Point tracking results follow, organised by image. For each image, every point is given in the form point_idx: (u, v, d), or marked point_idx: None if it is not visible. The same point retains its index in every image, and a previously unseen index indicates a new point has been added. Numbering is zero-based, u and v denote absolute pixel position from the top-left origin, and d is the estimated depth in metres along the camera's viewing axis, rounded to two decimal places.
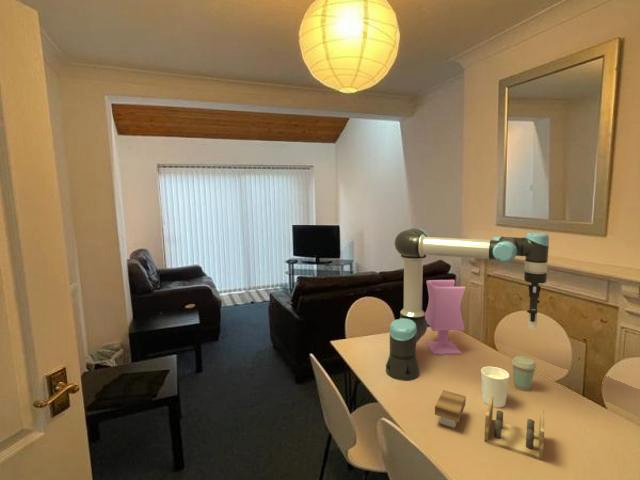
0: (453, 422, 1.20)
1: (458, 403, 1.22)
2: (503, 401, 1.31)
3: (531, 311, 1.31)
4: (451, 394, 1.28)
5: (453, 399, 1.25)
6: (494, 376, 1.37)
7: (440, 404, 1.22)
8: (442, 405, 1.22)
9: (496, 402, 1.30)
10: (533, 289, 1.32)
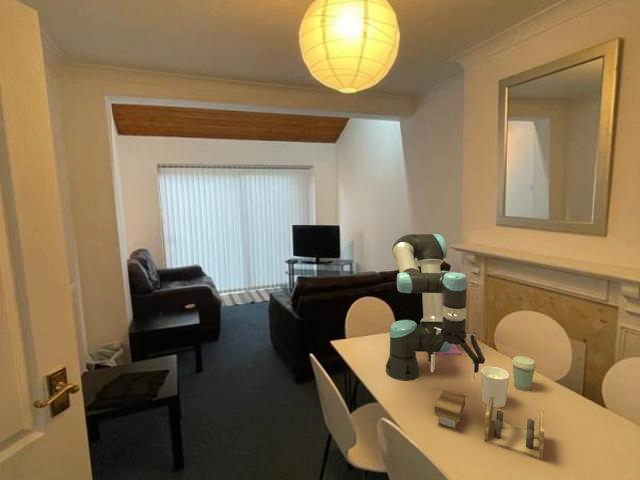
0: (453, 422, 1.20)
1: (458, 403, 1.22)
2: (503, 401, 1.31)
3: None
4: (451, 394, 1.28)
5: (453, 399, 1.25)
6: (494, 376, 1.37)
7: (440, 404, 1.22)
8: (442, 405, 1.22)
9: (496, 402, 1.30)
10: None
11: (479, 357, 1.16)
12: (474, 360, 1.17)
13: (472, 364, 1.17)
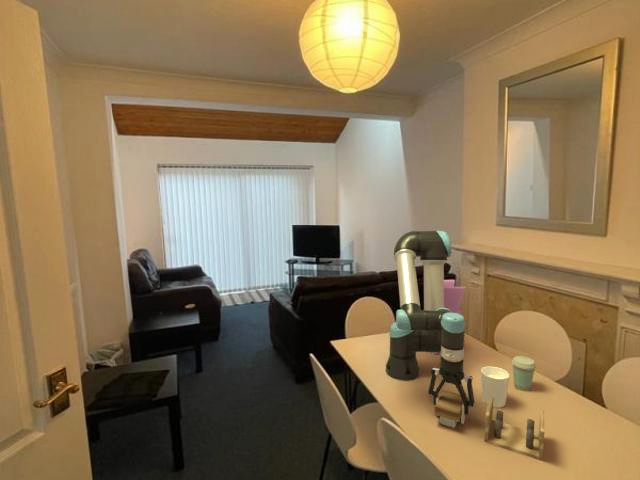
0: (453, 422, 1.20)
1: (458, 403, 1.22)
2: (503, 401, 1.31)
3: None
4: (451, 394, 1.28)
5: (453, 399, 1.25)
6: (494, 376, 1.37)
7: (440, 404, 1.22)
8: (442, 405, 1.22)
9: (496, 402, 1.30)
10: None
11: (470, 400, 1.19)
12: (464, 402, 1.20)
13: (462, 406, 1.20)
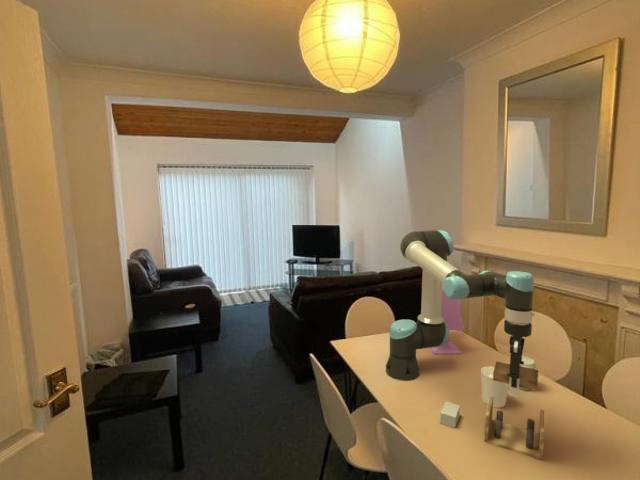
0: (453, 422, 1.20)
1: None
2: (503, 401, 1.31)
3: (512, 375, 1.05)
4: (498, 367, 1.13)
5: (508, 368, 1.12)
6: None
7: (528, 377, 1.06)
8: (529, 376, 1.07)
9: (496, 402, 1.30)
10: (514, 349, 1.04)
11: (521, 354, 1.15)
12: None
13: None
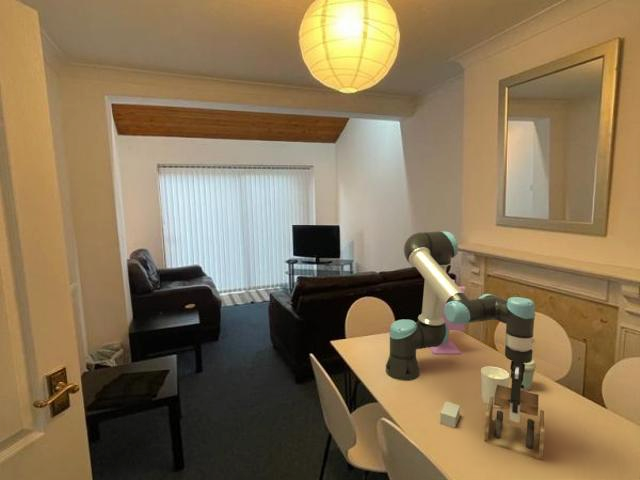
0: (453, 422, 1.20)
1: None
2: None
3: (513, 402, 1.05)
4: (499, 392, 1.14)
5: (509, 392, 1.13)
6: (494, 376, 1.37)
7: (529, 403, 1.07)
8: (529, 401, 1.08)
9: None
10: (515, 375, 1.05)
11: None
12: (521, 384, 1.15)
13: (521, 390, 1.15)
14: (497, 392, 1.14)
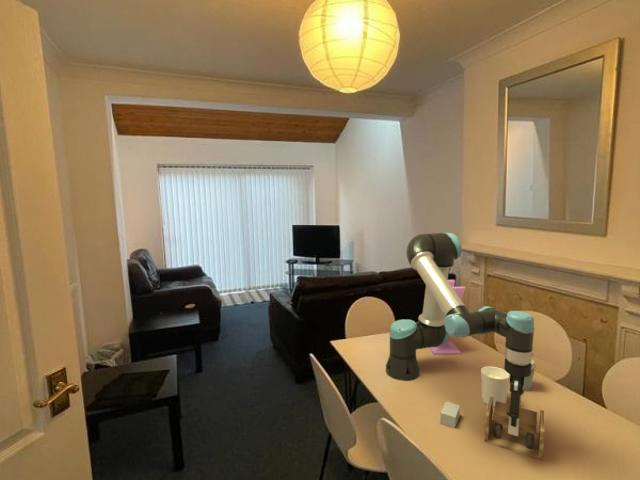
0: (453, 422, 1.20)
1: None
2: (503, 401, 1.31)
3: (511, 415, 1.04)
4: (498, 409, 1.15)
5: (508, 409, 1.14)
6: (494, 376, 1.37)
7: (528, 421, 1.08)
8: (528, 419, 1.09)
9: None
10: (514, 386, 1.06)
11: None
12: (521, 390, 1.17)
13: None
14: (496, 409, 1.14)
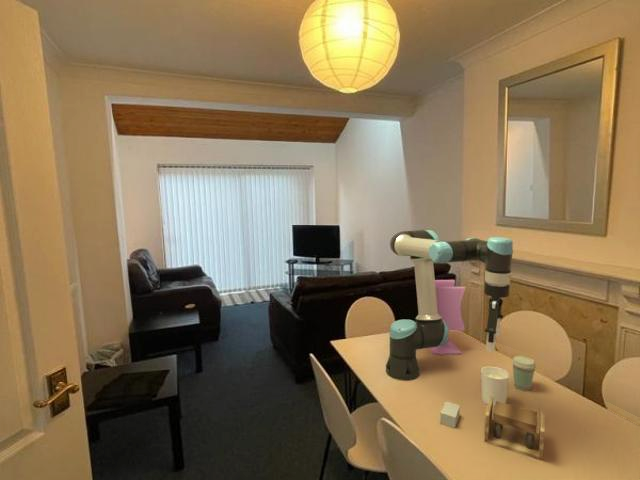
0: (453, 422, 1.20)
1: (515, 408, 1.15)
2: (503, 401, 1.31)
3: (489, 331, 1.11)
4: (498, 409, 1.15)
5: (508, 409, 1.14)
6: (494, 376, 1.37)
7: (528, 421, 1.08)
8: (528, 419, 1.09)
9: None
10: (492, 305, 1.12)
11: (500, 309, 1.25)
12: (500, 315, 1.24)
13: None
14: (496, 409, 1.14)
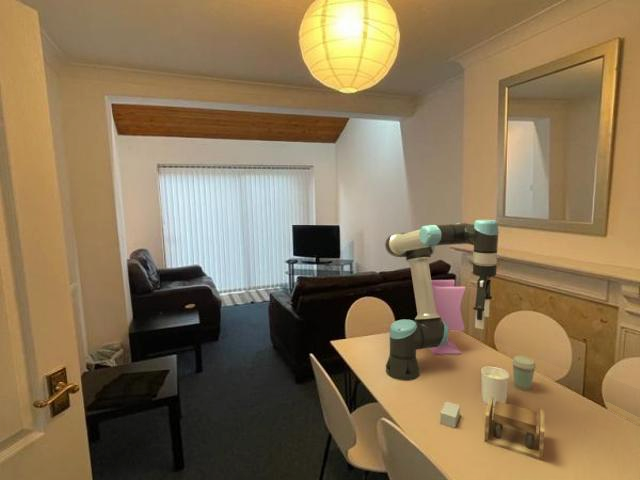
0: (453, 422, 1.20)
1: (515, 408, 1.15)
2: (503, 401, 1.31)
3: (477, 308, 1.15)
4: (498, 409, 1.15)
5: (508, 409, 1.14)
6: (494, 376, 1.37)
7: (528, 421, 1.08)
8: (528, 419, 1.09)
9: None
10: (480, 283, 1.17)
11: None
12: (489, 296, 1.29)
13: (489, 300, 1.28)
14: (496, 409, 1.14)
